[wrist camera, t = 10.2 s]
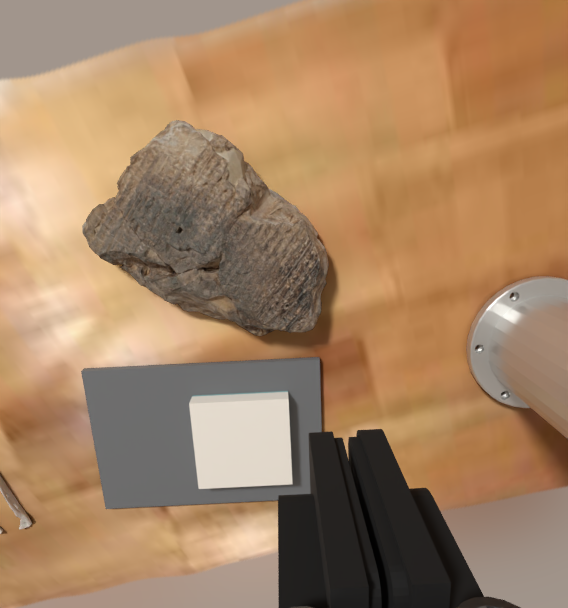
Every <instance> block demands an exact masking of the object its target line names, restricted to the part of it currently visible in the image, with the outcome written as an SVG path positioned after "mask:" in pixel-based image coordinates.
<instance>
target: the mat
mask: <svg viewBox="0 0 568 608" xmlns="http://www.w3.org/2000/svg"><path fill="white" fill-rule="evenodd" d="M81 372H82V378H83V383H84V389H85V395H86V400H87V406H88V411H89V417H90V423H91V428H92V434H93V440H94V445H95V451H96V456H97V462H98V468H99V473H100V479H101V484H102V490H103V496H104V501H105V507H106V509H114V508H134V507H154V506H173V505H193V504H213V503H233V502H252V501H272V500H278V495H297V494H311V493H310V465H309V433H314V432H322V426H321V388H320V359H319V357H311V358H291V359H270V360H250V361H229V362H209V363H189V364H168V365H148V366H127V367H107V368H87V369H83V370H82V371H81ZM276 391H288V399H289V420H290V441H291V462H292V483H293V484H290V485H270V486H250V487H231V488H211V489H199V488H198V479H197V470H196V461H195V452H194V444H193V435H192V426H191V417H190V408H189V403H190V400H191V398H192V396H195V395H215V394H235V393H255V392H276Z"/></svg>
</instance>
